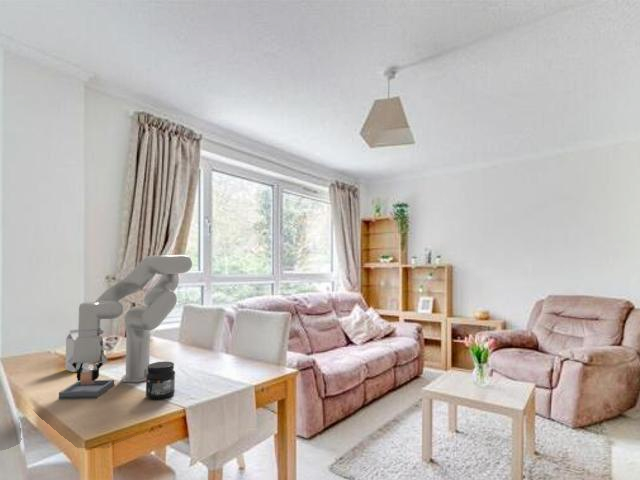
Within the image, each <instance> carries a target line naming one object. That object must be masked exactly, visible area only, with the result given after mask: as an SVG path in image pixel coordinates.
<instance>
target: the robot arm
mask: <svg viewBox="0 0 640 480" xmlns="http://www.w3.org/2000/svg"><path fill="white" fill-rule="evenodd" d="M192 266H193V261H192V259H191V258H190V257H189V256H188V255H186V254H185V255H184V254H169V255H148V256H146V257H144V258H143V259H142V260H141V261H139V263H138V264H137V265H136V266H135V267H134V268H133V269H132V270H131V271H130V272H129V273H128V274H127V275H126V276H125V277H124V278H123V279H121V280H119V281H118V282H116V283H115V284H112V286H110V287H108V289H106V290H105V291H104V292H103V293H102V294H101V295H100V296H98V298H97V299H96V300H95V301H87V302H82V303H80V304H79V306H78V326H77V329H78V337H77V338H76V341H75V346H74V352H73V356H72V357H71V358H70V360H69V361H68V362H69V363H70V364H71V365H72V366H73V367H74V368H75V370H76V380H77V381H76V382H78V381H80V372H82V369H83V368H82V367H83V363H89V364H91V363H92V368H94V370H93V371H92V380H98V379H99V376H100V368H101V367H102V366H104V365H105V364H106V363H107V362H108V361H109V359H108V358H107V356H106V354H105V346H104V345H105V343H104V338H103V335H102V334H104V330H103V329H101V320H112V319H113V320H114V319H117V318H119V317H120V316H121V315H122V314H123V313H124V305H123V304H122V303H121V302H119V301H122V299H124V298H126V297H127V296H130V295H132V294H135V293H138V292H140V291H142V289H143V288H145V286H146V285H147V284H149V282H150V281H151V280H152V278H154V277H155V275H161V277H160V279H159V280H158V281H157V283H155V285H154V286H153V287H152V288H151V289H150V290H149V291H148V292H147V293H146V294H145V296H144V298H143V304H144V305H145V306H142V305H141V306H140V305H139V306H138V305H137V306H133V307H130V308H129V309H128V310H127V311H126V313H125V316H124V326H125V333H126V335H125V336H126V337H125V338H126V339H125V340H126V345H125V346H126V347H125V375H122V376H121V382H122V383H126V384H131V383H132V384H133V383H134V384H135V383H141V382H146V374H147V373H148V371H147V367H148V365H150V359H151V358H150V354H151V350H150V349H151V348H150V347H151V334H150V331H153V330H155V329H157V328H158V327H159V326H160V325H161V324H162V323H163V322H164V320H165V319H166V318H168V315H169V314H170V313H171V312H172V311H174V308H175V306H176V304H177V299H178V297H177V294H176V293H175V291H176V289H177V288H178V287H179V282H180V281H179V280H180V277H179V274H184V273H188V272H189V271H190V270H191V268H192Z"/></svg>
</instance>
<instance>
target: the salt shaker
mask: <svg viewBox="0 0 640 480" xmlns="http://www.w3.org/2000/svg"><path fill="white" fill-rule="evenodd" d="M93 370H94V367H89V368H86V369H82V372H80V385H82V386H86V385H91V384H94V383H95V380H92V371H93Z"/></svg>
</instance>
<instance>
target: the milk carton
mask: <svg viewBox="0 0 640 480" xmlns="http://www.w3.org/2000/svg"><path fill="white" fill-rule="evenodd" d="M77 337H78V328H77V329H70V330H69V333H68V335H67V336H66V338H65V368H64V369H65V371H69V372H71V373H75V372H76V373H77V371H76V370H75V368H74V367H73V366H72V365H71V364H70V363H69V362H68V361H69V360H70V358H71V357H72V356H73V352H74V346H75V341H76V338H77ZM89 365H90V363H83V367H82V368H83V369H86V368H90V366H89Z"/></svg>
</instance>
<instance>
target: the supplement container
mask: <svg viewBox="0 0 640 480" xmlns="http://www.w3.org/2000/svg"><path fill="white" fill-rule="evenodd" d="M174 369H175V364H174V362H173V361H168V360H166V361H155V362H152V363H149V365H148V367H147V371H148V373H147V374H146V381H145V397H146V398H147V399H148V400H150V401H151V400H152V401H160V400H161V401H162V400H165V399H169V398H171V397H172V396H174V395H175V392H176V389H175V385H176V384H175V383H176V378H175V377H176V371H175V370H174Z"/></svg>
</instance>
